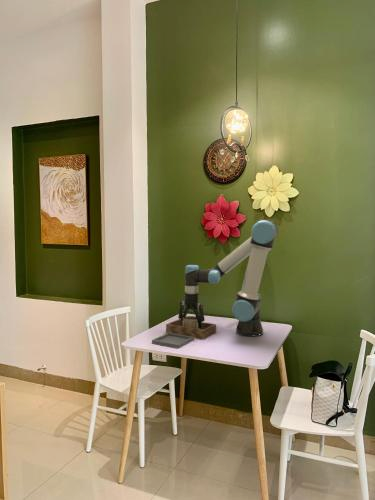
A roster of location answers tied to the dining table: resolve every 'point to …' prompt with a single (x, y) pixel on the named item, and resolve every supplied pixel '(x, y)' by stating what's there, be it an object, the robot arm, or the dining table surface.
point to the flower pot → (190, 321)
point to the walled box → (191, 329)
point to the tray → (173, 340)
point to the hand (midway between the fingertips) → (191, 332)
